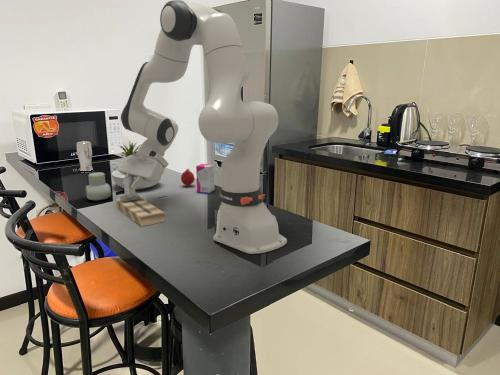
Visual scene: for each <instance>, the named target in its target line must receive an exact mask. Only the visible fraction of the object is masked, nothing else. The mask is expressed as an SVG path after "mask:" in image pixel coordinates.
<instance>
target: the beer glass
mask: <svg viewBox="0 0 500 375" xmlns="http://www.w3.org/2000/svg"><path fill="white" fill-rule="evenodd" d="M76 153H77V157H78V160H79V164H80V168H79V171H91V170H93V171H94V169H93V166H92V164H93V163H92V158H93V150H92V143H91V141H90V140H89V141H87V140H86V141H85V140H84V141H83V140H82V141H77V142H76Z"/></svg>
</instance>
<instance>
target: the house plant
mask: <svg viewBox="0 0 500 375" xmlns="http://www.w3.org/2000/svg"><path fill="white" fill-rule="evenodd" d="M128 142H129V143H128V146H129V148H128V146H127V145H126V143H123V145H119V147H120V148H121V149H122V150H123V152H120V154H121V155H120V157H125V158H126V157H127V156H129V155H132V154H134V153H135V154H136V152H137V151H138V149H139V148H140V146H141V145H142V144H143V143H141V144H139V145H138V146H137V147H136V145H137V144H138V141H137V142H135V143H133V142H132V143H131V141H128ZM135 147H136V148H135ZM134 149H135V150H134Z"/></svg>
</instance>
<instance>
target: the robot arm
mask: <svg viewBox="0 0 500 375" xmlns="http://www.w3.org/2000/svg"><path fill="white" fill-rule="evenodd" d="M159 17H160V18H159V19H160V20H159V21H160V22H159V23H160V31H159V33H158V36H157V39H156V43H155V47H154V52H153V55H152V57H151V59H150V60H149V61H145V62H144V63H143V64H142V66H141V67H140V69H139V71H138V72H137V75H136V78H135V81H134V84H133V85H132V89H131V91H130V94H129V97H128V100H127V101H126V103H125V105H124V108H123V110H122V111H121V114H120V120H121V124H122V127H123V128H124V129H125V130H126V131H128V132H132V133H136V134H138V135H140V136H142V137H144V138H146V139H145V140H144V141H143V142H142V143H141V144H142V145H141V144H140V146H139V148H138V149H137V150H136V151H137V152H136V154H135V153H134V154H132V155H129V156H127V157H126V156H125V157H124V159H123V160H122V162H121V163H120V165H119V166H118V167H117V170H118V171H119V172H120V173H121V174H122V175H125V177H128V176H130V177H134V178H136V179H137V180H136V181H134V182H133V183H131V185H130V188H131V189H136V187H137V186H138V185H140V184H141V183H142V182H143V181H144V180H145V181H149V182H152V183H155V182H157V181H158V180H159V178H160V177H161V178H162V175H164V172H165V169H166V168H168V166H169V162H168V161H167V160H166V159H165V158H164V156H165V152H167V150H168V149H169V148H170V147H171V145H172V144H173V142H174V141H175V138H176V136H177V135H178V132H179V125H178V124H177V123H176V121H175V120H174V119H172V118H171V117H168V116H166V115H163V114H161V113H159V112H155V111H153V110H152V109H149V108H147V107H146V106H145V104H144V101H145V99H146V98H147V97H146V96H147V94H148V91H149V89H150V87H151V85H152V84H155V83H157V84H158V83H160V84H166V83H174V82H176V81H179V80H181V79H182V78H184V76H185V74H186V71H187V69H188V64H189V61H190V57H191V51H192V48H193V47H194V46H195V45H196V46H202V48H203V54H204V59H205V63H206V68H207V73H208V77H209V83H210V91H209V98H208V101H207V102H206V105H205V106H204V107H203V108H202V109H201V111H200V113H199V116H198V121H197V122H198V123H197V124H198V128H199V132H200V134H201V136H202V137H203V138H204V139H205V140H206V141H208V142H211V143H218V144H229V143H233V145H232V148H231V150H230V152H229V153H228V154H227V155H226V156H225V157H224V158H223V159H222V162H221V165H220V166H221V169H220V170H221V172H220V173H221V176H220V177H221V186H220V190H219V201H220V202H221V203H220V205H219V208H218V211H217V217H216V229H215V230H216V231H215V233H214V235H212V236H213V237H212V239H213V241H215V242H217V243H218V242H219V243H221V244H223V245H226V246H227V247H230V248H233V249H236V250H238V251H241V252H243V253H246V254H249V255H250V254H251V255H253V254H254V255H255V254H262V253H268V252H271V251H274V250H277V249H279V248H282V247H283V246H285V245H286V244H287V242H288V239H287V238H286V237H285V236H284V235H282V234H280V232H279V230H280V229H279V224H278V221H277V217H276V216H275V215H274V214H272V212H270V210H269V209H268V207H267V206H266V205H265V203H264V199H265V198H266V197H265V196H266V194H263V193H262V190H261V187H260V170H261V161H262V157H263V154H264V150H265V148H266V146H267V142H268V140H269V139H270V138H271V136H272V135H273V134H274V133H275V132H276V131H277V129H278V126H279V114H278V111H277V109H276V108H275V106H273V105H272V104H270V103H267V102H263V101H260V100H251V101H250V100H249V101H246V100H245V101H243V100H242V94H241V93H242V87H244V86H245V85H246V83H247V82H248V81H249V78H250V70H249V67H248V63H247V58H246V54H245V50H244V46H243V42H242V38H241V36H240V33H239V31H238V28H237V25H236V23H235V21H234V19H233V18H232V16H230V14H228V13H225V12H223V11H222V10H219V9H218V8H217V9H216V8H211V7H209V6H207V5H203V4H201V3H196V2H189V1H184V0H170V1H168V2H166V3H165V4H164V5H163V7H162V9H161V11H160V16H159ZM159 181H160V180H159ZM122 185H123V186H124V182H123V183H122Z"/></svg>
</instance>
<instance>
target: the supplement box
mask: <svg viewBox="0 0 500 375" xmlns="http://www.w3.org/2000/svg"><path fill="white" fill-rule="evenodd" d="M195 171H196V193H197V194H205V195H206V194H208V195H209V194H212V193H213V192H215V190H216V189H215V164H214V163H213V164H212V163H211V164H210V163H201V164H198V165H196V170H195Z"/></svg>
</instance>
